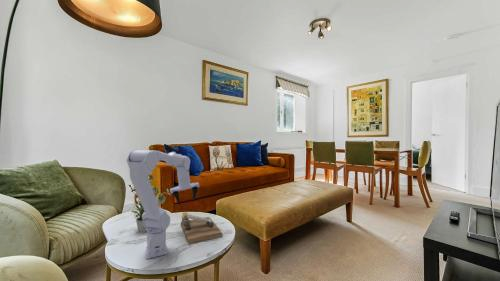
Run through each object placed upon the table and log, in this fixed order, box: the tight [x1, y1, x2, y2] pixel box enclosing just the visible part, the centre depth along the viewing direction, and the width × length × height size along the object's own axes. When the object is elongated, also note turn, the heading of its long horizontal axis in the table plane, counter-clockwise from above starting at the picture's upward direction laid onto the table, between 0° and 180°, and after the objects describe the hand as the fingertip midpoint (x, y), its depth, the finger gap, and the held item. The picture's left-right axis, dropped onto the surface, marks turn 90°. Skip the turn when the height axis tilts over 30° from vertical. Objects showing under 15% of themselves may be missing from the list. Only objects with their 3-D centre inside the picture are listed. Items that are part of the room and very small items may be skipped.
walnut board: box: [180, 216, 223, 245], centre depth 104 cm, size 22×16×5 cm
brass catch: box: [181, 211, 190, 220], centre depth 108 cm, size 5×2×2 cm, turn 28°
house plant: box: [130, 203, 147, 233], centre depth 102 cm, size 14×14×16 cm
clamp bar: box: [187, 213, 213, 223], centre depth 104 cm, size 4×13×2 cm, turn 118°
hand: (186, 202), depth 106 cm, fingers open, 7 cm apart
